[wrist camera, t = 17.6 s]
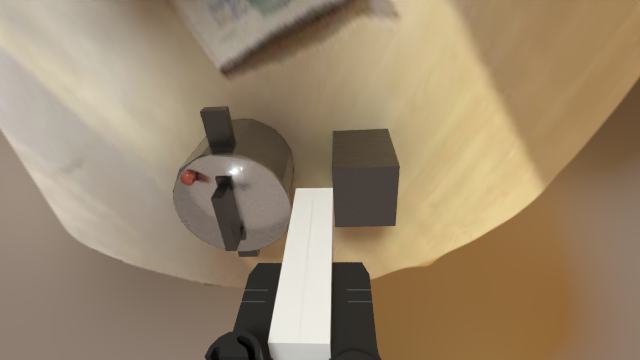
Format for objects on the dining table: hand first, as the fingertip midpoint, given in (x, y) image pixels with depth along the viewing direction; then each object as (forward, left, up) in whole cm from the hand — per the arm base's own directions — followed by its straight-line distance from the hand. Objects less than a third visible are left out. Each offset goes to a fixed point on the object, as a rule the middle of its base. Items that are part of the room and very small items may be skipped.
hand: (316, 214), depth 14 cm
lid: (+13, -11, -19) cm, 25 cm away
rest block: (+13, +4, -29) cm, 32 cm away
